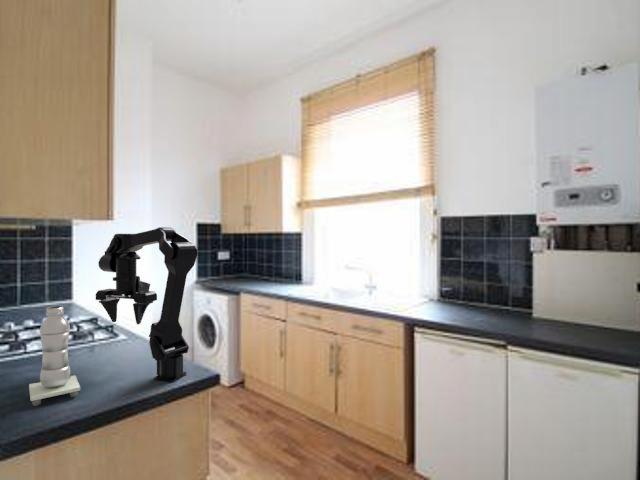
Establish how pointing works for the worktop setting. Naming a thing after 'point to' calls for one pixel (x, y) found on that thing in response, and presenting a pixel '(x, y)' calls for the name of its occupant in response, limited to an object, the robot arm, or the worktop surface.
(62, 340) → the plastic bottle
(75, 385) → the plate
